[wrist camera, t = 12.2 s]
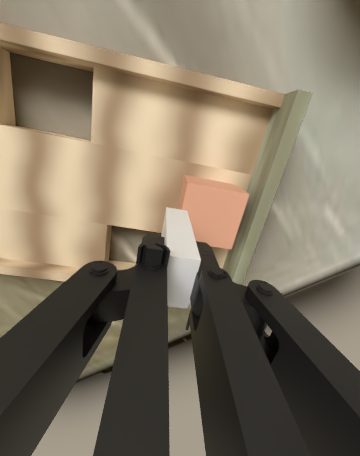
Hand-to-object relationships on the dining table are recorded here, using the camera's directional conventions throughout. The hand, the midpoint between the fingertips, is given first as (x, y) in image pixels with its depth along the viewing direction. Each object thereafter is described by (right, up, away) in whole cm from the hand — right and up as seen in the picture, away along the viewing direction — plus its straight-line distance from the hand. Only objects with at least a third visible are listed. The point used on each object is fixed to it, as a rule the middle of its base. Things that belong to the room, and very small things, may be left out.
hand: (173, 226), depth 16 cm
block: (+3, +2, +8) cm, 9 cm away
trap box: (-8, +5, +9) cm, 13 cm away
